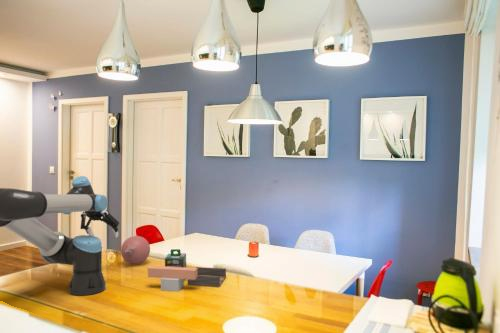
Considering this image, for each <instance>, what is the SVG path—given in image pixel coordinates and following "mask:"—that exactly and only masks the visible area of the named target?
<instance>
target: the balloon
mask: <svg viewBox="0 0 500 333" xmlns="http://www.w3.org/2000/svg"><path fill="white" fill-rule="evenodd" d="M120 253H121V254H120V255H121V257H122V260H124V261H125V262H126V263H128V264H129V265H140V264H142V263H144V262H145V261H146V260H147V259H148V257H149V256H150V253H151V247H150V243H149V241H148V240H147V239H146V238H144V237H143V236H139V235H132V236H130V237H128V238H127V239H125V240H124V241H123V243H122V245H121V248H120Z"/></svg>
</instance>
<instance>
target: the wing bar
mask: <svg viewBox="0 0 500 333" xmlns="http://www.w3.org/2000/svg"><path fill="white" fill-rule="evenodd" d="M197 277H198V268H196V267H186V268H184V267H165V265H164V266H163V265H162V266H161V265H160V266H158V265H150V266H149V267H147V278H159V279H162V278H174V279H185V280H188V279H192V280H195V279H196V278H197Z"/></svg>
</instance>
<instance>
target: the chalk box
mask: <svg viewBox="0 0 500 333" xmlns="http://www.w3.org/2000/svg"><path fill="white" fill-rule="evenodd" d="M174 252H177V253H174ZM181 252H182V251H181V249H179V248H177V249H170V253H168V254H167V255H165V256H166V257H165V258H164V266H165V267H184V268H187V253H184V252H183V253H181ZM185 280H186V279H184V281H185Z"/></svg>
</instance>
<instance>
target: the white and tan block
mask: <svg viewBox="0 0 500 333" xmlns="http://www.w3.org/2000/svg"><path fill="white" fill-rule="evenodd" d="M184 286H185V280H184V279H174V278H160V291H163V292H165V291H166V292H179V291H181V289H182V288H183V287H184Z"/></svg>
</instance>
